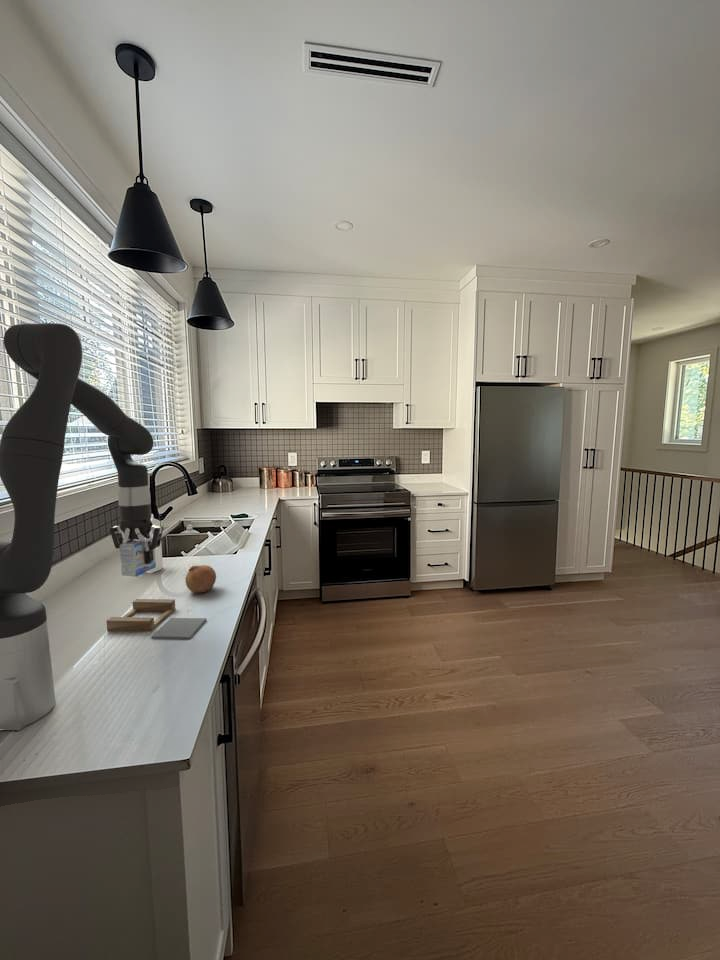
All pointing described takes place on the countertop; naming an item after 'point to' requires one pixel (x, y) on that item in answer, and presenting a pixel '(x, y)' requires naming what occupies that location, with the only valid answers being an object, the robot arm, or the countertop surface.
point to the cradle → (142, 623)
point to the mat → (179, 628)
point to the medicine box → (134, 559)
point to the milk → (156, 549)
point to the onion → (200, 578)
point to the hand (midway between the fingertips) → (138, 562)
